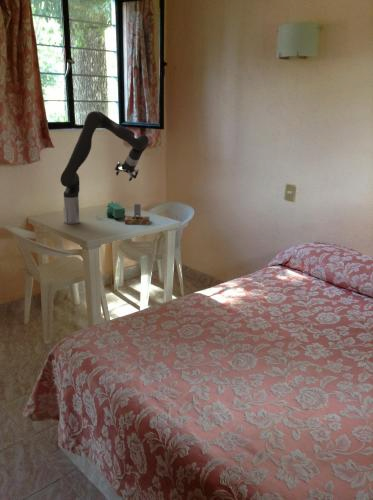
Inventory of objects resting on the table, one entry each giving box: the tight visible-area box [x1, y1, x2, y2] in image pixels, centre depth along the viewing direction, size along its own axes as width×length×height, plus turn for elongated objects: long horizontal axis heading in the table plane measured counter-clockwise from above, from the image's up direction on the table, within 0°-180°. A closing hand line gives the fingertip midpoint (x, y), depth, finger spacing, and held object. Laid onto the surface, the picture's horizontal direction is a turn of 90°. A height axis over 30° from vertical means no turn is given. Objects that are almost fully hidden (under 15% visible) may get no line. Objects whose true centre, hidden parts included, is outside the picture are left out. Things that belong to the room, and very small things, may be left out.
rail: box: [124, 215, 151, 225], centre depth 289 cm, size 16×10×3 cm, turn 93°
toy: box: [106, 201, 126, 219], centre depth 304 cm, size 12×10×30 cm
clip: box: [133, 203, 142, 219], centre depth 287 cm, size 4×4×12 cm
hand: (123, 177), depth 279 cm, fingers open, 8 cm apart
